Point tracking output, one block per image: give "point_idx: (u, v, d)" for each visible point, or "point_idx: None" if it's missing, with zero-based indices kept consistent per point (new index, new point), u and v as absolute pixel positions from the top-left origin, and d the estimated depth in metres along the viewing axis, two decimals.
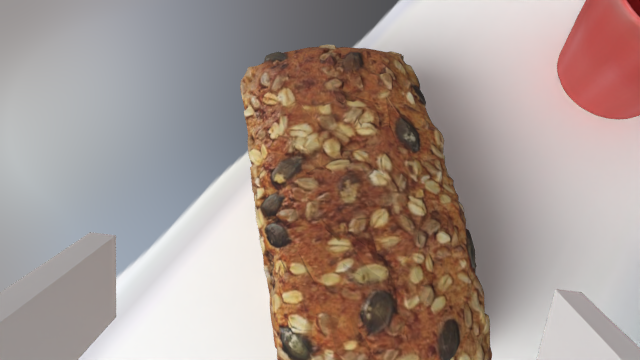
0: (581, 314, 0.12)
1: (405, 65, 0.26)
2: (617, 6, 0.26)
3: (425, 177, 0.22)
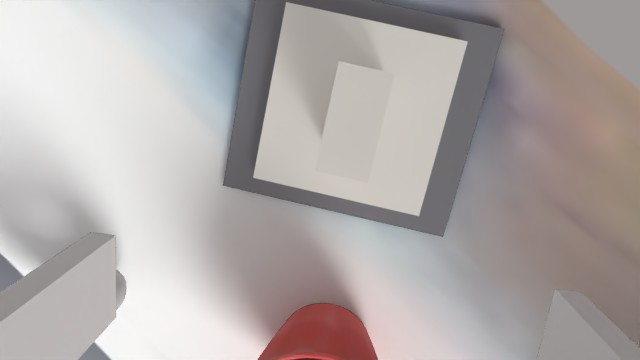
0: (582, 314, 0.12)
1: None
2: None
3: None
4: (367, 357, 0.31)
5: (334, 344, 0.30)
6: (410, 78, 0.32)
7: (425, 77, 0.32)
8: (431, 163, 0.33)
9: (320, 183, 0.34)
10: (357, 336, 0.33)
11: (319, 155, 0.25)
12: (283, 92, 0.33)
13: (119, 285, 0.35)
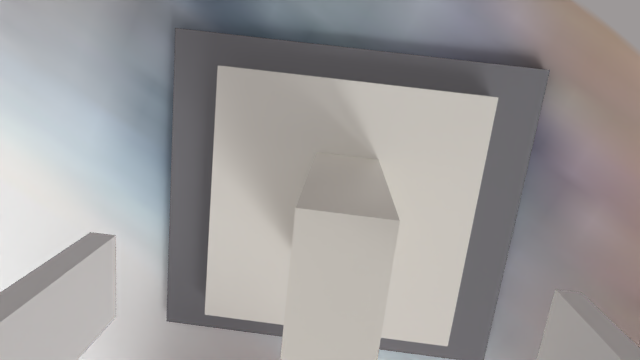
0: (582, 314, 0.12)
1: None
2: None
3: None
4: None
5: None
6: (416, 158, 0.21)
7: (439, 155, 0.21)
8: (459, 274, 0.23)
9: None
10: None
11: None
12: (231, 195, 0.22)
13: None
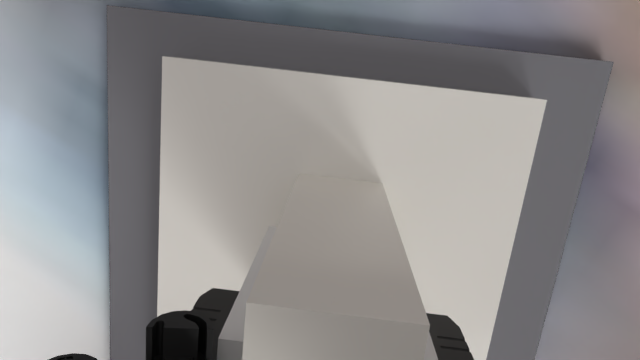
0: None
1: None
2: None
3: None
4: None
5: None
6: (434, 182, 0.16)
7: (464, 178, 0.16)
8: (488, 332, 0.17)
9: None
10: None
11: None
12: (186, 230, 0.17)
13: None
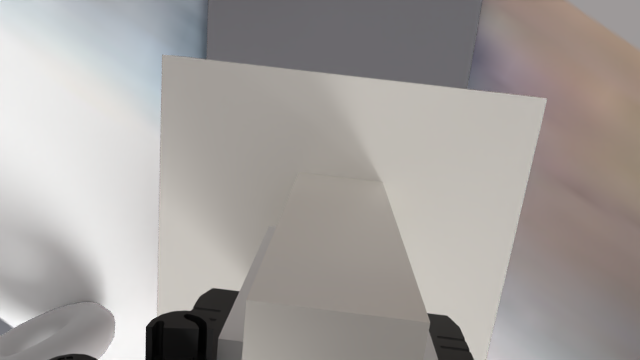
0: None
1: None
2: None
3: None
4: None
5: None
6: (434, 181, 0.16)
7: (464, 176, 0.16)
8: (488, 331, 0.17)
9: None
10: None
11: None
12: (186, 229, 0.17)
13: (106, 324, 0.33)
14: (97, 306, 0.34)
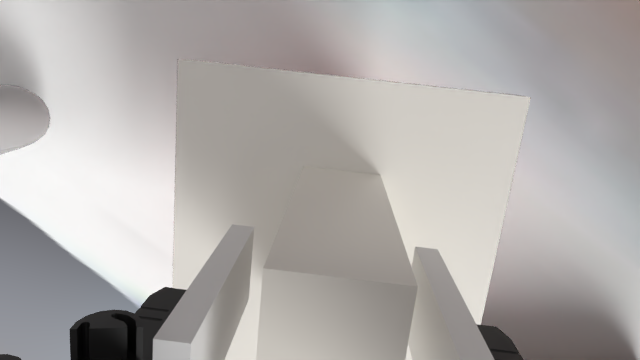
0: (425, 263, 0.14)
1: None
2: None
3: None
4: None
5: None
6: (427, 174, 0.17)
7: (455, 169, 0.17)
8: (479, 313, 0.19)
9: None
10: None
11: None
12: (199, 219, 0.18)
13: (31, 99, 0.24)
14: None
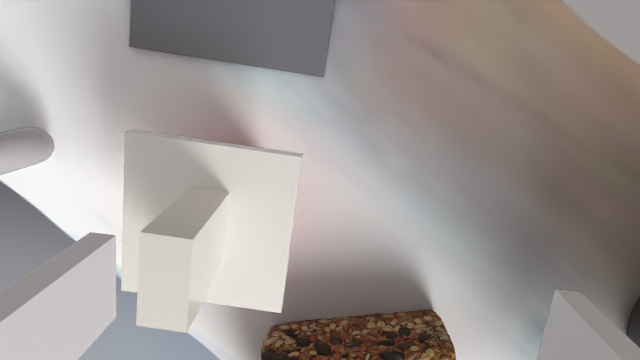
0: (581, 314, 0.12)
1: None
2: None
3: None
4: None
5: None
6: (253, 193, 0.34)
7: (267, 191, 0.34)
8: (285, 266, 0.35)
9: None
10: None
11: (138, 312, 0.26)
12: (136, 213, 0.34)
13: (44, 136, 0.40)
14: (39, 128, 0.42)
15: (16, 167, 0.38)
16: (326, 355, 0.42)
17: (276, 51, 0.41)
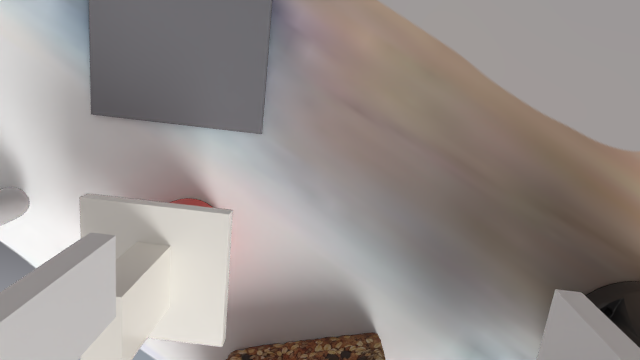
0: (582, 314, 0.12)
1: None
2: None
3: None
4: None
5: None
6: (191, 245, 0.39)
7: (202, 243, 0.39)
8: (222, 307, 0.41)
9: None
10: None
11: (81, 357, 0.32)
12: None
13: (18, 196, 0.46)
14: (15, 188, 0.48)
15: None
16: None
17: (218, 113, 0.47)
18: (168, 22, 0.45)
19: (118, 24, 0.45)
